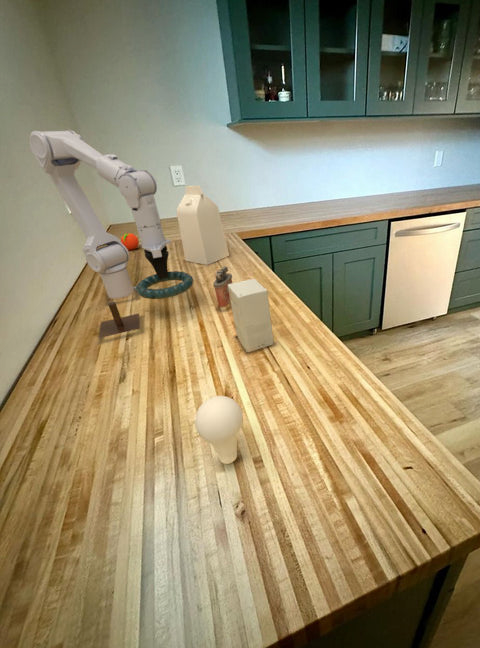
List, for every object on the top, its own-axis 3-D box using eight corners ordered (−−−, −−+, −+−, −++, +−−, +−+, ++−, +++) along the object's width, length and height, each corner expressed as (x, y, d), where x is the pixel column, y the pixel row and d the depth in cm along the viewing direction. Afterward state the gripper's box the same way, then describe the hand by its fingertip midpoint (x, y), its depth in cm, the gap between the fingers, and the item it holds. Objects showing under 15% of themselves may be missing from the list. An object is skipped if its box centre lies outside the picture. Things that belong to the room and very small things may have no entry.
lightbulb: (210, 445, 50) (195, 388, 45) (251, 440, 51) (240, 384, 45) (204, 481, 45) (185, 422, 40) (249, 476, 45) (237, 417, 40)
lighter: (227, 311, 89) (220, 275, 84) (215, 310, 90) (208, 275, 85) (238, 298, 96) (232, 264, 91) (227, 297, 96) (221, 264, 92)
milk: (229, 255, 131) (216, 183, 118) (207, 264, 123) (191, 189, 110) (207, 251, 137) (193, 183, 124) (185, 260, 129) (168, 188, 116)
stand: (102, 325, 86) (92, 300, 82) (140, 317, 89) (131, 292, 85) (100, 342, 79) (88, 315, 75) (141, 332, 82) (132, 306, 78)
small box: (274, 344, 73) (268, 290, 67) (246, 353, 71) (237, 297, 65) (261, 328, 80) (254, 277, 73) (236, 336, 78) (226, 283, 71)
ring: (137, 285, 89) (134, 276, 88) (189, 274, 94) (188, 266, 93) (138, 305, 78) (135, 296, 77) (198, 292, 83) (196, 283, 82)
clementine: (135, 252, 143) (130, 235, 140) (119, 253, 143) (114, 236, 140) (143, 246, 150) (138, 230, 146) (128, 247, 150) (123, 231, 147)
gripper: (168, 228, 79) (182, 282, 85) (163, 217, 90) (175, 265, 97) (136, 233, 76) (152, 288, 83) (135, 221, 88) (149, 270, 95)
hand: (163, 276), depth 90 cm, fingers closed on ring, 2 cm apart
